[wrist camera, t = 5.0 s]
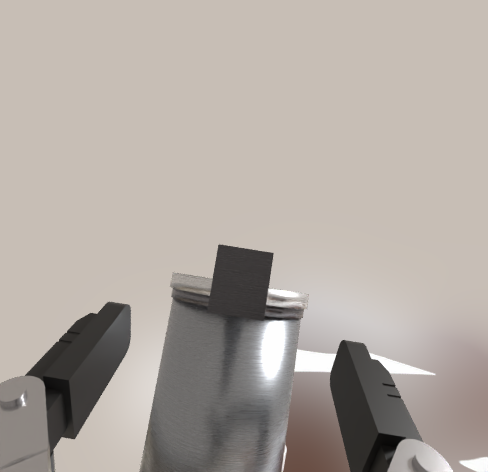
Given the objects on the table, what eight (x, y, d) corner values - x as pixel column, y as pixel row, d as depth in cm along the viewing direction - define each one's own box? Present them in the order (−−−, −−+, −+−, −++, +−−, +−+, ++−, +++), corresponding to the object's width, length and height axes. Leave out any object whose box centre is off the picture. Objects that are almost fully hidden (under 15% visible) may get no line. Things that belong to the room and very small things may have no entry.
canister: (255, 578, 35) (291, 303, 40) (266, 776, 21) (319, 313, 26) (135, 557, 36) (186, 286, 41) (65, 739, 21) (156, 287, 26)
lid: (293, 303, 41) (297, 277, 41) (407, 344, 13) (412, 264, 14) (184, 285, 41) (189, 260, 41) (66, 289, 13) (85, 212, 14)
